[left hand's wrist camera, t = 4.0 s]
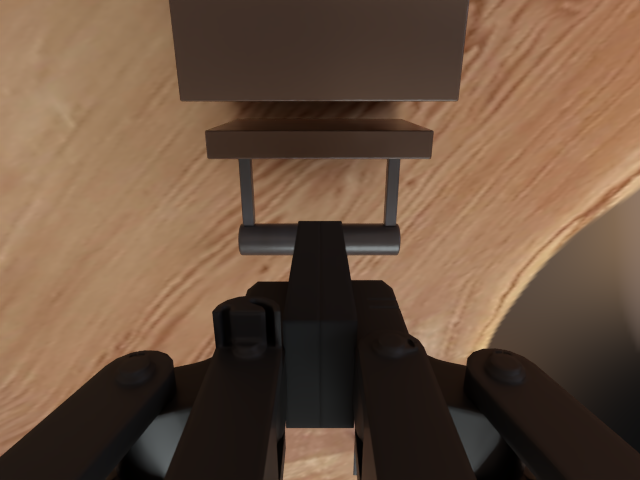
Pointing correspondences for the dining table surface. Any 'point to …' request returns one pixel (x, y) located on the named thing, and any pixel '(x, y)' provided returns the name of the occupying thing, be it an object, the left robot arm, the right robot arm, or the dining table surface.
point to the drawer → (319, 143)
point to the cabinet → (319, 49)
